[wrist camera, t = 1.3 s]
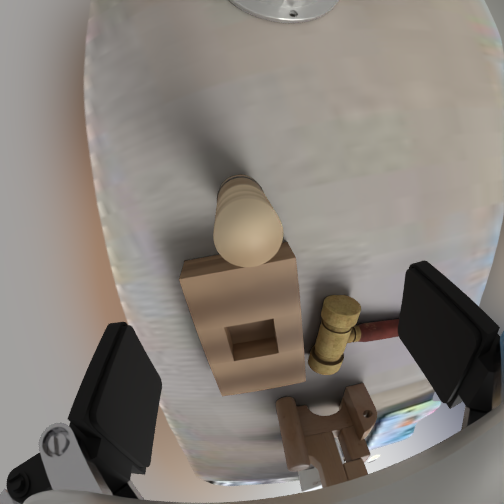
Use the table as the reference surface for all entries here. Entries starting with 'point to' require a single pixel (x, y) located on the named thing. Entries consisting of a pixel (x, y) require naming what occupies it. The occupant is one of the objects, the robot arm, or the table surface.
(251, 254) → the wooden pepper mill
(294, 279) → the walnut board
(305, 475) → the supplement box
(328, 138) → the table surface
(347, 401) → the wooden toy
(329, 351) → the gavel
